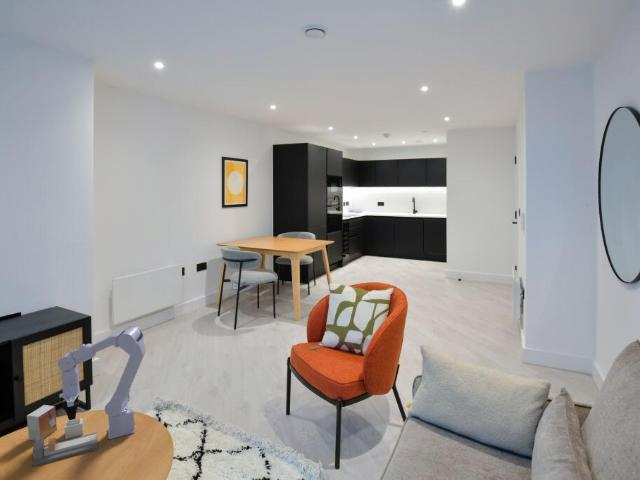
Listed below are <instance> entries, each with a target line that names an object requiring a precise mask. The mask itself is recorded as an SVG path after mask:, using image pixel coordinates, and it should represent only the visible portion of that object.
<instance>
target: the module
mask: <svg viewBox="0 0 640 480" xmlns="http://www.w3.org/2000/svg"><path fill="white" fill-rule="evenodd" d="M64 435H65V440H69V439H73V438H77V437H81V436H84V419H83V417H79V418H75V419H73V420H66V421H65V422H64Z"/></svg>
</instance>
